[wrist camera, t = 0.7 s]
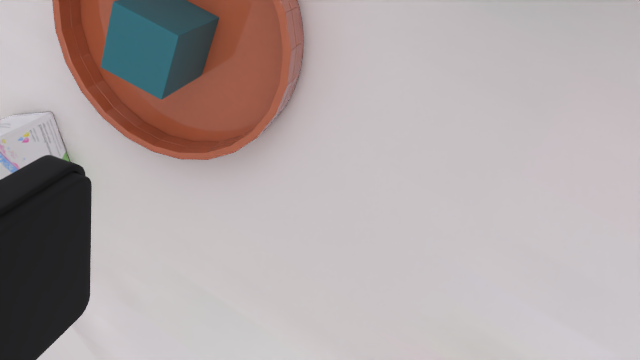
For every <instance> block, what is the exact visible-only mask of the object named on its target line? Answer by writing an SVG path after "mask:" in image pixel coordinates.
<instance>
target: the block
mask: <svg viewBox="0 0 640 360" xmlns="http://www.w3.org/2000/svg"><path fill="white" fill-rule="evenodd" d="M218 21H219V17H217V16H215V15H213V14H212V13H210V12H208V11H206V10H204V9H202V8H200V7H198V6H196V5H194V4H192V3H190V2H189V1H187V0H116V1H113V4H112V10H111V15H110V20H109V25H108V30H107V36H106V41H105V46H104V51H103V56H102V62H101V68H103V69H105V70H107V71H108V72H110V73H112V74H114V75H116V76H118V77H120V78H121V79H123V80H125V81H127V82H129V83H131V84H133V85H135V86H136V87H138V88H140V89H142V90H144V91H146V92H148V93H150V94H151V95H153V96H155V97H157V98H159V99H161V100H162V99H164V98H165V97H167V96H169V95H170V94H172V93H174V92H175V91H177V90H179V89H180V88H182V87H184V86H185V85H187V84H188V83H190V82H192V81H193V80H195V79H197V78H198V77H200V76H202V73H203V70H204V67H205V63H206V60H207V57H208V53H209V50H210V47H211V44H212V40H213V37H214V34H215V30H216V27H217V24H218Z"/></svg>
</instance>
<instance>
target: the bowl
mask: <svg viewBox="0 0 640 360" xmlns="http://www.w3.org/2000/svg"><path fill="white" fill-rule="evenodd" d="M52 1H53V11H54V21H55V29H56V34H57V37H58V40H59V43H60V46H61V49H62V53H63V56H64V59H65V62H66V64H67V66H68V68H69V70H70V71H71V73H72V75H73V77H74V79H75V81H76V83H77V84H78V86H79V88H80V90H81V91H82V93H83V94H84V95H85V97H86V98H87V99H88V100H89V101H90V103H91V104H92V105H93V106H94V108H95V109H96V110H97V111H98V113H99V114H100V115H101V116H102V117H103V118H104V119H105V120H106V121H107V122H109V123H110V124H111V125H112V126H113V127H115V128H116V129H117V130H118V131H119V132H121V133H122V134H123V135H124V136H125V137H127V138H129V139H130V140H132V141H134V142H136V143H138V144H140V145H142V146H143V147H145V148H147V149H149V150H151V151H153V152H156V153H160V154H163V155H167V156H171V157H174V158H178V159H199V160H208V159H212V158H216V157H220V156H223V155H227V154H230V153H234V152H236V151H237V150H239V149H240V148H242V147H243V146H245V145H247V144H248V143H250V142H251V141H253V140H254V139H256V138H257V137H258V136H259V135H260V134H261V133H262V132H263V131H264V130H265V129H266V128H267V127H268V126H269V125H270V124H271V123H272V122H273V120H274V119H275V118H276V117H277V116H278V115H279V114H280V112H281V111H282V110H283V108H284V107H285V106H286V104H287V102H288V101H289V99H290V97H291V95H292V93H293V91H294V89H295V86H296V83H297V80H298V77H299V74H300V68H301V63H302V58H303V27H302V19H301V14H300V9H299V4H298V1H297V0H187V1H189V2H190V3H192V4H194V5H196V6H198V7H200V8H202V9H204V10H206V11H208V12H210V13H212V14H213V15H215V16H217V17H219V21H218V24H217V27H216V30H215V34H214V37H213V40H212V44H211V47H210V50H209V53H208V57H207V60H206V63H205V67H204V70H203V73H202V76H200V77H198V78H197V79H195V80H193V81H192V82H190V83H188V84H187V85H185V86H184V87H182V88H180V89H179V90H177V91H175V92H174V93H172V94H170V95H169V96H167V97H165V98H164V99H162V100H161V99H159V98H157V97H155V96H153V95H151V94H150V93H148V92H146V91H144V90H142V89H140V88H138V87H136V86H135V85H133V84H131V83H129V82H127V81H125V80H123V79H121V78H120V77H118V76H116V75H114V74H112V73H110V72H108V71H107V70H105V69H103V68H101V62H102V56H103V51H104V46H105V41H106V36H107V30H108V25H109V20H110V15H111V10H112V4H113V1H116V0H52Z"/></svg>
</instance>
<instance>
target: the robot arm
mask: <svg viewBox="0 0 640 360" xmlns="http://www.w3.org/2000/svg"><path fill="white" fill-rule="evenodd" d="M90 252H91V181H90V179H89V178H88V177H86V176H85V171H84V169H83V167H81V166H80V165H78V164H75V163H72V162H69V161H66V160H64V159H61V158H58V157H55V156H52V155H45V156H43V157H40V158H39V159H37V160H35V161H33V162H31V163H30V164H28V165H26V166H24V167H22V168H21V169H19V170H17V171H15V172H13V173H12V174H10V175H8V176H6V177H4V178H3V179H1V180H0V360H36V359H37V358H38V357H39V356H40V355H41V354H42V353H43V352H44V351H45V350H46V349H47V348H49V346H51V345H52V344H53V343H54V342H55V341H56V340H57V339H58V338H59V337H60V336H61V335H62V334H63V333H64V332H65V331H66V330H67V329H68V328H69V327H70V326H71V325H72V324H73V323H74V322H75V321H76V320H77V319H78V318H79V317H80V316H81V315H82V314H83V312H84V310H85V309H86V307H87V305H88V302H89V298H90Z"/></svg>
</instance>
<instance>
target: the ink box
mask: <svg viewBox="0 0 640 360" xmlns="http://www.w3.org/2000/svg"><path fill="white" fill-rule="evenodd" d="M45 155H52V156H55V157H58V158H61V159H64V160H66V161H69V159H68V156H67V153H66V150H65V147H64V145H63V142H62V139H61V136H60V133H59V131H58V128H57V125H56V122H55V119H54V116H53V114H52V113H51V112H42V113H31V114H20V115H11V116H8V117H6V118H4V119H1V120H0V180H1V179H3V178H4V177H6V176H8V175H10V174H12V173H13V172H15V171H17V170H19V169H21V168H22V167H24V166H26V165H28V164H30V163H31V162H33V161H35V160H37V159H39V158H40V157H43V156H45Z"/></svg>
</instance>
